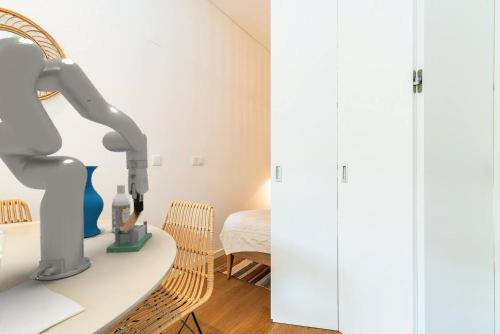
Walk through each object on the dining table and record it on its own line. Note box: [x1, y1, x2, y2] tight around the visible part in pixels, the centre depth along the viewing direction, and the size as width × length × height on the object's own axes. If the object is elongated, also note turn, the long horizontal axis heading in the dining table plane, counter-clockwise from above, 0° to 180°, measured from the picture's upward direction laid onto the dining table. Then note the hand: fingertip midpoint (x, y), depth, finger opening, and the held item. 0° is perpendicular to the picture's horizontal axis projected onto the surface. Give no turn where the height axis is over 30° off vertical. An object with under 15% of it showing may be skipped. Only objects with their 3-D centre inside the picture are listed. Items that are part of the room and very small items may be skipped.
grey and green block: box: [106, 220, 153, 253], centre depth 88 cm, size 16×10×8 cm, turn 7°
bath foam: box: [111, 184, 131, 234], centre depth 104 cm, size 7×7×20 cm
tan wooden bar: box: [119, 210, 143, 234], centre depth 88 cm, size 14×3×1 cm, turn 7°
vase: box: [83, 165, 105, 238], centre depth 98 cm, size 12×13×28 cm
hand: (138, 211), depth 95 cm, fingers closed
